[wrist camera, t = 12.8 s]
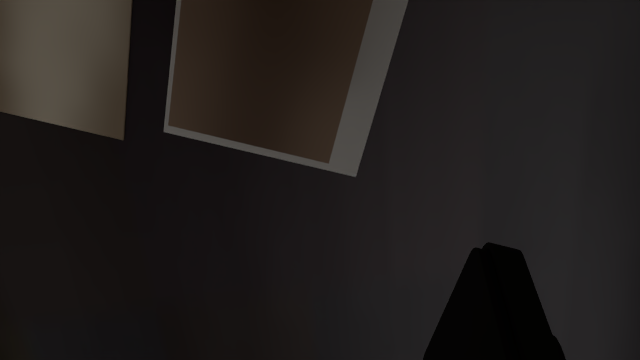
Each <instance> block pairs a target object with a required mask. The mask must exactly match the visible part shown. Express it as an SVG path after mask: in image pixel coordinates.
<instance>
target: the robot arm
mask: <svg viewBox="0 0 640 360" xmlns="http://www.w3.org/2000/svg"><path fill="white" fill-rule="evenodd" d="M423 360H566V359H565V356H564V353H563V351H562V348H561V345H560V343H559V342H558V340H557V338H556V337H555V336H553V335H552V332H551V330H550V327H549V324H548V321H547V319H546V316H545V313H544V310H543V308H542V305H541V302H540V300H539V297H538V294H537V291H536V289H535V286H534V283H533V280H532V278H531V275H530V272H529V270H528V267H527V264H526V261H525V259H524V256H523V254H522V252H521V251H520V250H518V249H514V248H510V247H506V246H502V245H498V244H493V243H486V244H485V245H484V246H483V248H482V249H480V248H473V250H472V251H471V253H470V254H469V257H468V259H467V261H466V263H465V265H464V268H463V270H462V272H461V274H460V277H459V279H458V281H457V283H456V285H455V288H454V290H453V292H452V294H451V296H450V299H449V301H448V303H447V305H446V307H445V310H444V312H443V314H442V316H441V318H440V321H439V323H438V325H437V327H436V330H435V332H434V334H433V336H432V338H431V341H430V343H429V345H428V347H427V349H426V352H425V354H424V358H423Z"/></svg>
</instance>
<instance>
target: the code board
mask: <svg viewBox="0 0 640 360" xmlns="http://www.w3.org/2000/svg"><path fill="white" fill-rule="evenodd" d="M132 2H133V0H0V112H5V113H9V114H13V115H18V116H22V117H26V118H31V119H35V120H39V121H43V122H48V123H52V124H56V125H61V126H65V127H69V128H73V129H78V130H82V131H86V132H91V133H95V134H99V135H103V136H108V137H112V138H116V139H121V140H124V135H125V118H126V102H127V85H128V69H129V52H130V35H131V19H132Z"/></svg>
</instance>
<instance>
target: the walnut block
mask: <svg viewBox="0 0 640 360" xmlns="http://www.w3.org/2000/svg"><path fill="white" fill-rule="evenodd" d="M372 2H373V0H181V8H180V17H179V27H178V36H177V46H176V55H175V65H174V74H173V84H172V93H171V103H170V112H169V122H168V126H173V127H177V128H181V129H185V130H189V131H194V132H198V133H202V134H206V135H210V136H215V137H219V138H223V139H227V140H231V141H235V142H240V143H244V144H248V145H252V146H256V147H261V148H265V149H269V150H273V151H277V152H282V153H286V154H290V155H294V156H298V157H303V158H307V159H311V160H315V161H319V162H324V163H328V164H329V161H330V157H331V153H332V150H333V146H334V142H335V139H336V135H337V131H338V128H339V124H340V120H341V117H342V113H343V109H344V106H345V102H346V98H347V94H348V91H349V87H350V83H351V80H352V76H353V72H354V69H355V65H356V61H357V58H358V54H359V50H360V46H361V43H362V39H363V35H364V32H365V28H366V24H367V21H368V17H369V13H370V10H371V6H372Z"/></svg>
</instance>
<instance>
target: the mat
mask: <svg viewBox="0 0 640 360" xmlns="http://www.w3.org/2000/svg"><path fill="white" fill-rule="evenodd" d="M407 3H408V0H373V2H372V6H371V10H370V13H369V17H368V21H367V24H366V28H365V32H364V35H363V39H362V43H361V46H360V50H359V54H358V58H357V61H356V65H355V69H354V72H353V76H352V80H351V83H350V87H349V91H348V94H347V98H346V102H345V106H344V109H343V113H342V117H341V120H340V124H339V128H338V131H337V135H336V139H335V142H334V146H333V150H332V153H331V157H330V161H329V164H328V163H324V162H319V161H315V160H311V159H307V158H303V157H298V156H294V155H290V154H286V153H282V152H277V151H273V150H269V149H265V148H261V147H256V146H252V145H248V144H244V143H240V142H235V141H231V140H227V139H223V138H219V137H215V136H210V135H206V134H202V133H198V132H194V131H189V130H185V129H181V128H177V127H173V126H168V122H169V112H170V103H171V93H172V84H173V74H174V65H175V55H176V46H177V36H178V27H179V17H180V8H181V0H177V1H176V11H175V21H174V31H173V42H172V52H171V62H170V72H169V82H168V93H167V103H166V113H165V123H164V132H166V133H171V134H175V135H179V136H184V137H188V138H192V139H196V140H201V141H205V142H209V143H213V144H218V145H222V146H226V147H230V148H235V149H239V150H243V151H247V152H252V153H256V154H260V155H265V156H269V157H273V158H277V159H282V160H286V161H290V162H294V163H299V164H303V165H307V166H311V167H316V168H320V169H324V170H328V171H333V172H337V173H341V174H345V175H350V176H354V177H356V174H357V171H358V168H359V164H360V161H361V158H362V154H363V151H364V148H365V144H366V141H367V138H368V134H369V131H370V127H371V124H372V121H373V117H374V114H375V111H376V107H377V104H378V101H379V97H380V94H381V91H382V87H383V84H384V80H385V77H386V74H387V70H388V67H389V64H390V60H391V57H392V54H393V50H394V47H395V44H396V40H397V37H398V34H399V30H400V27H401V23H402V20H403V17H404V13H405V10H406V7H407Z"/></svg>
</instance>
